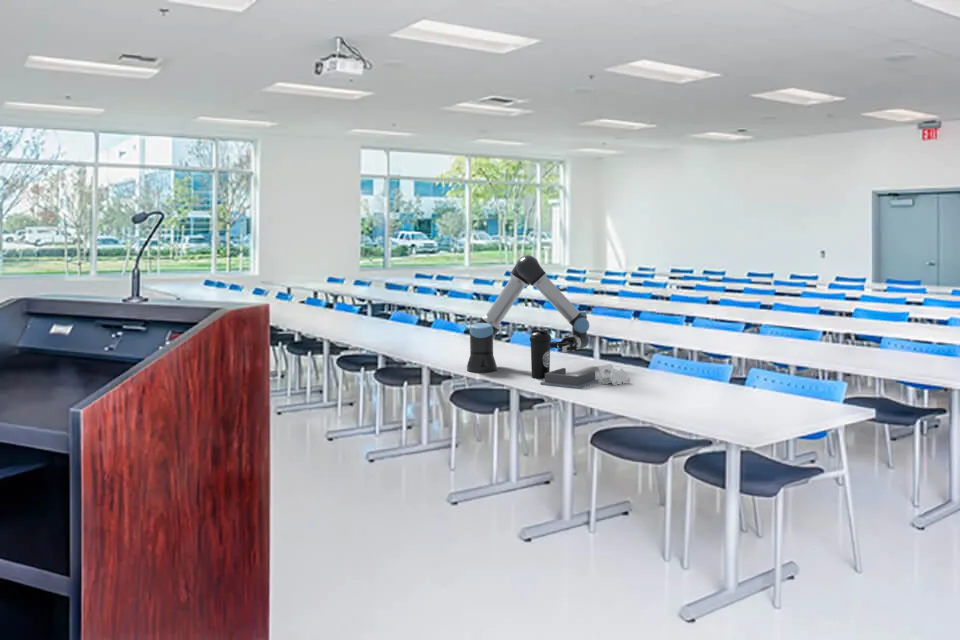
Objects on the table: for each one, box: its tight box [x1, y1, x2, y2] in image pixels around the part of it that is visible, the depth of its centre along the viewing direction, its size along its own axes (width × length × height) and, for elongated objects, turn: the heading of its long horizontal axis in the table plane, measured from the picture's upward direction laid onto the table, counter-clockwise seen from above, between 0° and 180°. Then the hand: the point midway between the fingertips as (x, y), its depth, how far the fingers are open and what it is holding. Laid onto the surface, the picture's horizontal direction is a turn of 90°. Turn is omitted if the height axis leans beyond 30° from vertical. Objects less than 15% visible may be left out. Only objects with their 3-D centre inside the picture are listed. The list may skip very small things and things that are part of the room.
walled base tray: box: [539, 367, 600, 389], centre depth 369 cm, size 20×20×5 cm
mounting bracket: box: [597, 363, 631, 386], centre depth 366 cm, size 12×6×11 cm, turn 128°
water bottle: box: [529, 328, 552, 380], centre depth 383 cm, size 10×10×23 cm
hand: (550, 348), depth 391 cm, fingers open, 13 cm apart
